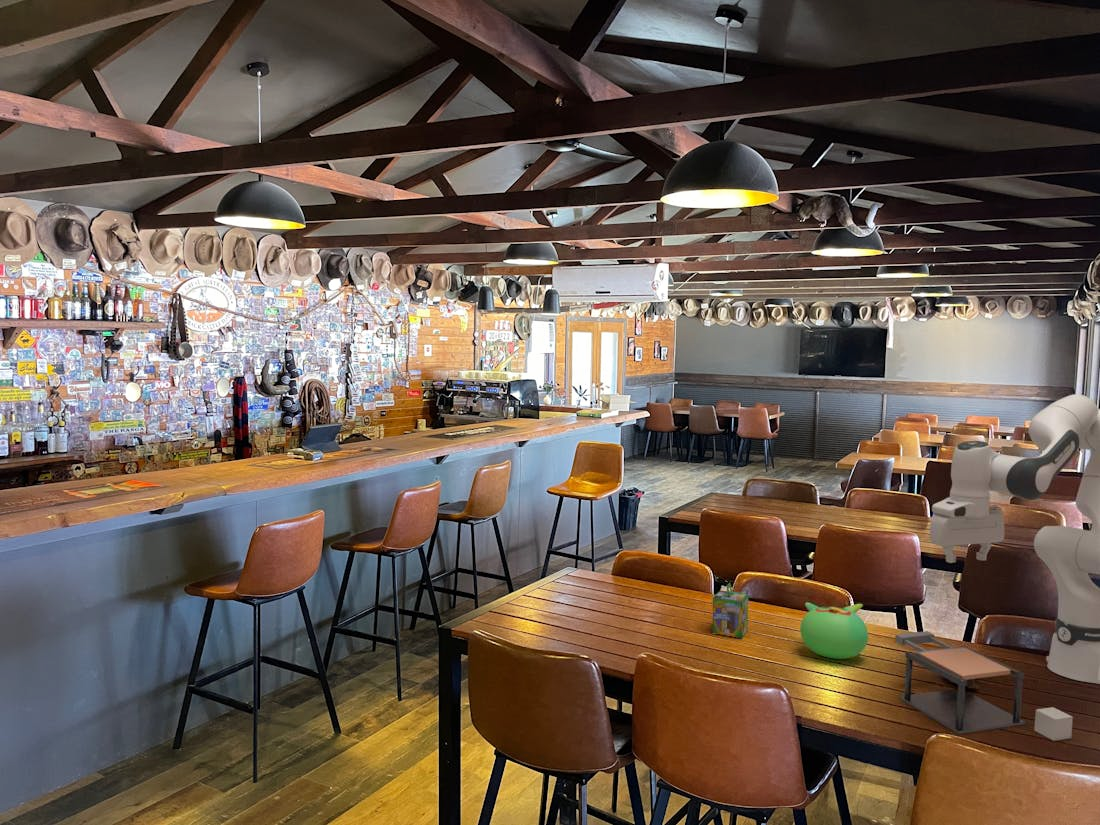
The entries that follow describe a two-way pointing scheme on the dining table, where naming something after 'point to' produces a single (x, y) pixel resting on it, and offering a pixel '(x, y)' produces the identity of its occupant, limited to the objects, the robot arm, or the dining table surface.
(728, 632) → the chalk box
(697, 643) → the dining table surface
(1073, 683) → the dining table surface
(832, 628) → the green rounded blob
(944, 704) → the stand
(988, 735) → the dining table surface
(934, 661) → the trapdoor
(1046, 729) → the grey cube
